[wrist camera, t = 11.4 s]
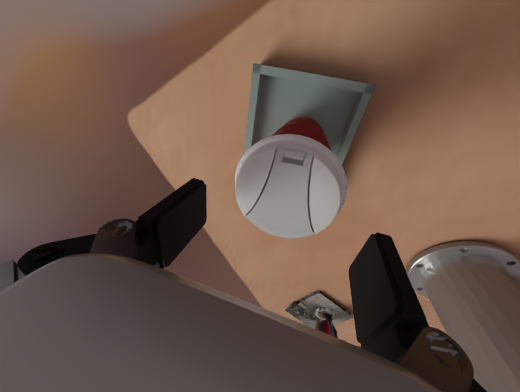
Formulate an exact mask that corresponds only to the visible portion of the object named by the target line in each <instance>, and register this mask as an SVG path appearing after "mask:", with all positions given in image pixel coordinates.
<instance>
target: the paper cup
mask: <svg viewBox="0 0 520 392" xmlns="http://www.w3.org/2000/svg"><path fill="white" fill-rule="evenodd" d="M346 194H347V179H346V175H345V171H344V169H343V167H342V165H341V163H340V161H339V160H338V158H337V157H336V156H335V154H334V153H333V152H332V151H331V149H330V146H329V144H328V141H327V138H326V136H325V133H324V131H323V129H322V128H321V126H320V125H319V124H318V123H317V122H316V121H315V120H313V119H311V118H307V117H298V118H295V119H292V120H290V121H289V122H287V123H286V124H284V125H283V126H282V127H281V128H280V129H278V130H277V131H276V132H275V133H274V134H273V135H271V136H270V137H267V138H265V139H263V140H260V141H259V142H257V143H256V144H254V145H253V146H252V147H250V148H249V149H248V150H247V151H246V152H245V154H244V155H243V156H242V158H241V160H240V162H239V163H238V166H237V169H236V174H235V195H236V199H237V203H238V205H239V208H240V210H241V211H242V213H243V215H244V216H245V215H246V216H245V217H246V218H247V219H248V220H249V221H250V222H251V223H253V224H254V225H255V226H256V227H257V228H259V229H260V230H262V231H264V232H266V233H268V234H271V235H274V236H278V237H283V238H301V237H306V236H310V235H314V233H315V234H317V233H319V232H320V231H322V230H324V229H325V228H326V227H327V226H328V225H329V224H330V223H331V222H332V221H333V220H334V219H335V217H336V215H337V213H338V212H339V211H340V209H341V208H342V206H343V204H344V201H345V198H346Z"/></svg>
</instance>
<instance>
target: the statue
mask: <svg viewBox="0 0 520 392" xmlns="http://www.w3.org/2000/svg"><path fill="white" fill-rule="evenodd" d="M316 292H317V293H316ZM316 292H314V294H309V295H308V296H306V297H304V298H303V299H301V300H299V301H297V302H298V303H297V302H296V301H295V302H294V303H292V305H291V306H290V307H288V308H287V309H286V311H287V312H289V313H290V314H291V315H293V316H294V317H296V318H297V319H299V320H300V321H301V322H303V323H304V324H305V325H306V326H308V327H311V328H313V329H316V330H318V331H321V332H323V333H326V334H328V335H331V336H333V337H336V338H338V337H337V331H336V329H335V327H334V325H336V324H338V323H341V322H343V321H345V320H348V319H350V318H353V317H352V316H350V315H351V314H350V312H348V310H345V311H343V310H342V309H341V308H339V307H338V305H335V304H336V303H335V302H333V301H334V300H331V301H332V302H331V301H330V300H329V299H327V298H326V297H325V296H323V295H322V294H320V293H321V292H320V291H319V290H318V291H316ZM334 303H335V304H334Z"/></svg>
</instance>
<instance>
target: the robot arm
mask: <svg viewBox="0 0 520 392" xmlns="http://www.w3.org/2000/svg"><path fill="white" fill-rule="evenodd" d="M138 218H139V219H138V220H137V221H136V222H134V221H133V220H131V219H126V218H120V219H115V220H112V221H109V222H107V223H105V224H104V225H102V226H101V227H100V228H99V230H98V231H97V233H96V234H92V235H88V236H82V237H77V238H72V239H66V240H62V241H56V242H51V243H47V244H43V245H40V246H38V247H36V248H33V249H32V250H30V251H28V252H27V253H26V254H24V255H23V256H22V257H21V258H20V259H19V261H18V262H15V261H14V260H11V261H8V262H5V263H2V264H0V392H520V261H519V260H518V259H517V258H516V257H515V256H514V255H513V254H511V253H510V252H509V251H507V250H506V249H504V248H501V247H499V246H497V245H493V244H489V243H484V242H477V241H460V242H450V243H445V244H440V245H437V246H434V247H431V248H429V249H427V250H425V251H423V252H421V253H419V254H418V255H416V256H415V257H414V258H413V259H412V260H411V261H410V263H409V264H408V266H407V269H406V270H405V268H404V266H403V263H402V261H401V259H400V256H399V254H398V252H397V249H396V247H395V245H394V242H393V240H392V238H391V237H390V236H388V235H385V234H381V233H376V234H372V235H371V236H370V237H369V239H368V240H367V242H366V243H365V245H364V246H363V248H362V249H361V251H360V252H359V254H358V255H357V257H356V258H355V260H354V261H353V263H352V264H351V266H350V268H349V279H350V287H351V296H352V304H353V312H354V320H355V328H356V336H357V340H358V342H359V343H361V348H360V347H357V346H355V345H353V344H350V343H348V342H345V341H343V340H341V339H338V338H336V337H333V336H331V335H328V334H326V333H323V332H321V331H318V330H316V329H313V328H311V327H308V326H306V325H303V324H301V323H298V322H296V321H293V320H291V319H289V318H286V317H284V316H281V315H279V314H276V313H273V312H271V311H268V310H266V309H263V308H261V307H258V306H256V305H253V304H251V303H248V302H245V301H243V300H241V299H238V298H236V297H233V296H230V295H228V294H225V293H223V292H220V291H218V290H215V289H213V288H210V287H207V286H205V285H202V284H200V283H197V282H195V281H192V280H189V279H187V278H184V277H182V276H179V275H177V274H174V273H172V272H169V271H166V270H163V268H164V267H165V266H166V267H167V266H169V265H170V264H171V263H172V261H173V260H174V259H175V258H176V257H177V256H178V255H179V253H180V252H181V251H182V250H183V249H184V247H185V246H186V245H187V244H188V243H189V242H190V240H191V239H192V238H193V237H194V236H195V235H196V234H197V232H198V231H199V230H200V229H201V228H202V227H203V225H204V224H205V222H206V184H204V182H203V181H202V180H198V179H195V178H193V179H191V180H190V181H188V182H187V183H186V184H184V185H183V186H181V187H180V188H179V189H177V190H176V191H174V192H173V193H172V194H170V195H169V196H167V197H166V198H165V199H163V200H162V201H160V202H159V203H158V204H157V205H155V206H153V207H152V208H151V209H149V210H148V211H147V212H145V213H144V214H142V215H141V216H140V217H138ZM414 290H415V291H416V292H418V293H419V294H421V295H423V296H425V297H427V298H429V299H430V301H431V303H432V305H433V307H434V309H435V311H436V313H437V315H438V317H439V319H440V321H441V323H442V325H443V327H444V329H445V331H446V333H447V334H446V333H444V332H442V331H441V330H439V329H436V328H433V327H429V325H428V323H427V321H426V317H425V315H424V312H423V310H422V308H421V305H420V303H419V301H418V298H417V296H416V294H415V291H414Z"/></svg>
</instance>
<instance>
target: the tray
mask: <svg viewBox="0 0 520 392" xmlns="http://www.w3.org/2000/svg"><path fill="white" fill-rule="evenodd" d="M375 87H376V85H375V84H369V83H363V82H358V81H352V80H346V79H340V78H335V77H329V76H323V75H318V74H312V73H306V72H300V71H295V70H289V69H283V68H278V67H272V66H266V65H260V64H255V63H254V64H253V73H252V83H251V93H250V102H249V112H248V122H247V131H246V141H245V151H244V154H245V152H246V151H247V150H248V149H249V148H250V147H252V146H253V145H254V144H256V143H257V142H259V141H260V140H263V139H265V138H267V137H270V136H271V135H273V134H274V133H275V132H276V131H277V130H278V129H280V128H281V127H282V126H283V125H284V124H286V123H287V122H289V121H290V120H292V119H295V118H298V117H307V118H311V119H313V120H315V121H316V122H317V123H318V124H319V125H320V126H321V128H322V129H323V131H324V133H325V136H326V138H327V141H328V144H329V146H330V149H331V151H332V152H333V153H334V154H335V156H336V157H337V158H338V160H339V161H340V163H341V165H342V164H343V161H344V159H345V157H346V154H347V152H348V150H349V147H350V145H351V143H352V140H353V138H354V136H355V133H356V131H357V129H358V126H359V124H360V122H361V119H362V117H363V115H364V112H365V110H366V108H367V105H368V103H369V101H370V98H371V96H372V94H373V91H374V89H375Z"/></svg>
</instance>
